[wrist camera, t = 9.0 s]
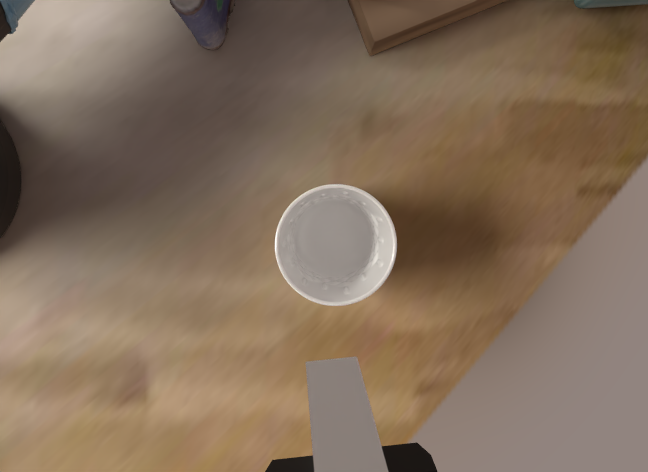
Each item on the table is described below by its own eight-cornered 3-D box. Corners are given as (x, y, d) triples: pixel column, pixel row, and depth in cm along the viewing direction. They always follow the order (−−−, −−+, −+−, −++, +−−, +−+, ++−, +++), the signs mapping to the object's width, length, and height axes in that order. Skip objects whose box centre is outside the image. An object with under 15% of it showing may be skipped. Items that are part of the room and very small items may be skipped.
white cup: (388, 199, 45) (408, 197, 35) (368, 292, 46) (383, 317, 36) (294, 179, 45) (288, 172, 35) (275, 273, 46) (263, 292, 36)
